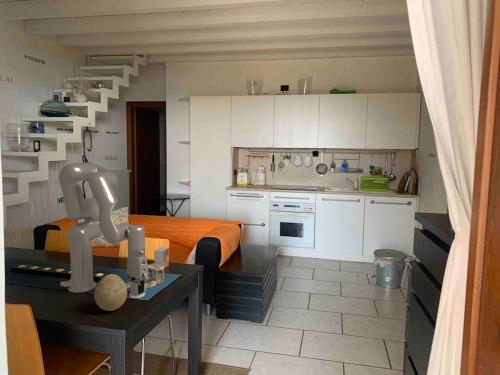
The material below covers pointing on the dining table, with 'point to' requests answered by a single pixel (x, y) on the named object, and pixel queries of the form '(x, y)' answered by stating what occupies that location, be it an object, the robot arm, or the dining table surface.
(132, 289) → the block
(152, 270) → the tunnel
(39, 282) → the dining table surface
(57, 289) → the dining table surface
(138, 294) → the coaster
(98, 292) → the fossilized egg
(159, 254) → the small box
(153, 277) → the push bar
